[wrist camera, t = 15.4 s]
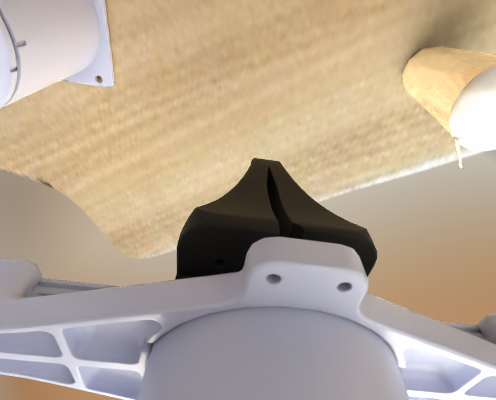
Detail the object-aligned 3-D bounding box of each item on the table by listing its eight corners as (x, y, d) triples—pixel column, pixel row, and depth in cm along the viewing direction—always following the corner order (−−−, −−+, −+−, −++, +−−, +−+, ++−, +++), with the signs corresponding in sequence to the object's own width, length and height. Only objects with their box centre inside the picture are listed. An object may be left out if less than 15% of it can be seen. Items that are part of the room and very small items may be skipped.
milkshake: (369, 80, 21) (439, 135, 13) (442, 19, 19) (579, 40, 11) (401, 122, 23) (478, 193, 15) (470, 71, 21) (606, 123, 13)
